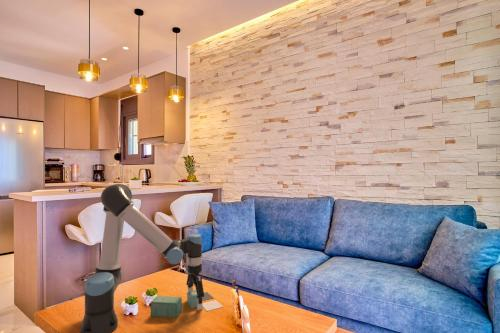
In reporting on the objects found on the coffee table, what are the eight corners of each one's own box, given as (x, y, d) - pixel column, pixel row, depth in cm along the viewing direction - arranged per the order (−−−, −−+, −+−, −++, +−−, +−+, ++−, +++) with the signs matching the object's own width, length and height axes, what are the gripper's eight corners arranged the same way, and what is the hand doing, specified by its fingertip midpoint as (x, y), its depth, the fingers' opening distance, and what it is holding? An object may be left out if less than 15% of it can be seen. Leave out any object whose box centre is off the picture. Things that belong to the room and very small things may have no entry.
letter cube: (191, 308, 150) (190, 296, 150) (187, 303, 156) (186, 292, 155) (202, 304, 154) (202, 292, 153) (198, 300, 159) (197, 288, 159)
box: (177, 318, 141) (177, 302, 141) (150, 317, 142) (150, 301, 142) (182, 310, 148) (182, 296, 148) (156, 310, 149) (156, 295, 149)
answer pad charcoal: (198, 302, 157) (198, 301, 157) (192, 296, 165) (192, 295, 165) (213, 298, 162) (213, 297, 162) (207, 292, 169) (207, 292, 169)
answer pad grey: (206, 311, 147) (206, 310, 147) (200, 304, 154) (200, 303, 154) (222, 307, 151) (222, 306, 151) (215, 300, 159) (215, 299, 159)
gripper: (210, 269, 146) (210, 312, 146) (193, 257, 167) (193, 294, 167) (196, 272, 142) (196, 316, 142) (180, 259, 163) (180, 297, 163)
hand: (194, 304), depth 154 cm, fingers open, 13 cm apart
